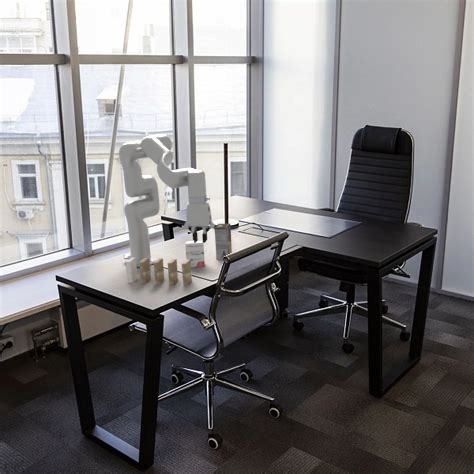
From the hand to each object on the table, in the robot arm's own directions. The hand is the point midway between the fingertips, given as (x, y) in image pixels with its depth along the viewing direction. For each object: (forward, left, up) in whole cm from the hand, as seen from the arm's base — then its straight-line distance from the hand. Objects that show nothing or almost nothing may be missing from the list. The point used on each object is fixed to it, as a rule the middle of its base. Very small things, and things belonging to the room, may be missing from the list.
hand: (200, 241), depth 254 cm
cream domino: (-33, 0, -19) cm, 38 cm away
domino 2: (-20, 0, -19) cm, 28 cm away
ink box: (-11, +24, -20) cm, 33 cm away
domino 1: (-27, 0, -19) cm, 33 cm away
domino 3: (-14, 0, -19) cm, 23 cm away
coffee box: (-1, +39, -19) cm, 44 cm away
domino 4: (-7, 0, -19) cm, 20 cm away
